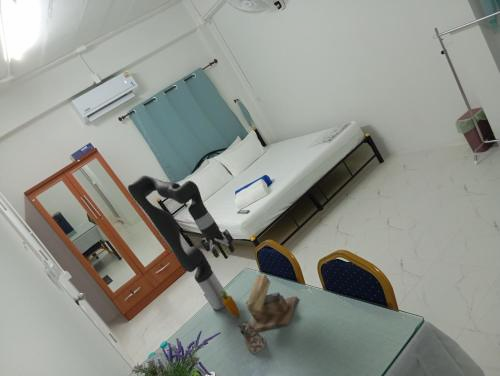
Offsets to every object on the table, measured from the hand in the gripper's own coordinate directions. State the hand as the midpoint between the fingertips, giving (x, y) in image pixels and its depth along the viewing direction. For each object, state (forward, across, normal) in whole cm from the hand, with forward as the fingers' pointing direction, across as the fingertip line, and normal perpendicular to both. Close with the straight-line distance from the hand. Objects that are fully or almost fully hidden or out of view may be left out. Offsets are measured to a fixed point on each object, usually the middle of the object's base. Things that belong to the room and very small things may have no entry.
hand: (225, 254), depth 197 cm
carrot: (+30, +10, +4) cm, 32 cm away
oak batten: (+20, -11, +9) cm, 25 cm away
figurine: (+30, -9, +26) cm, 41 cm away
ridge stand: (+30, -11, +9) cm, 33 cm away
